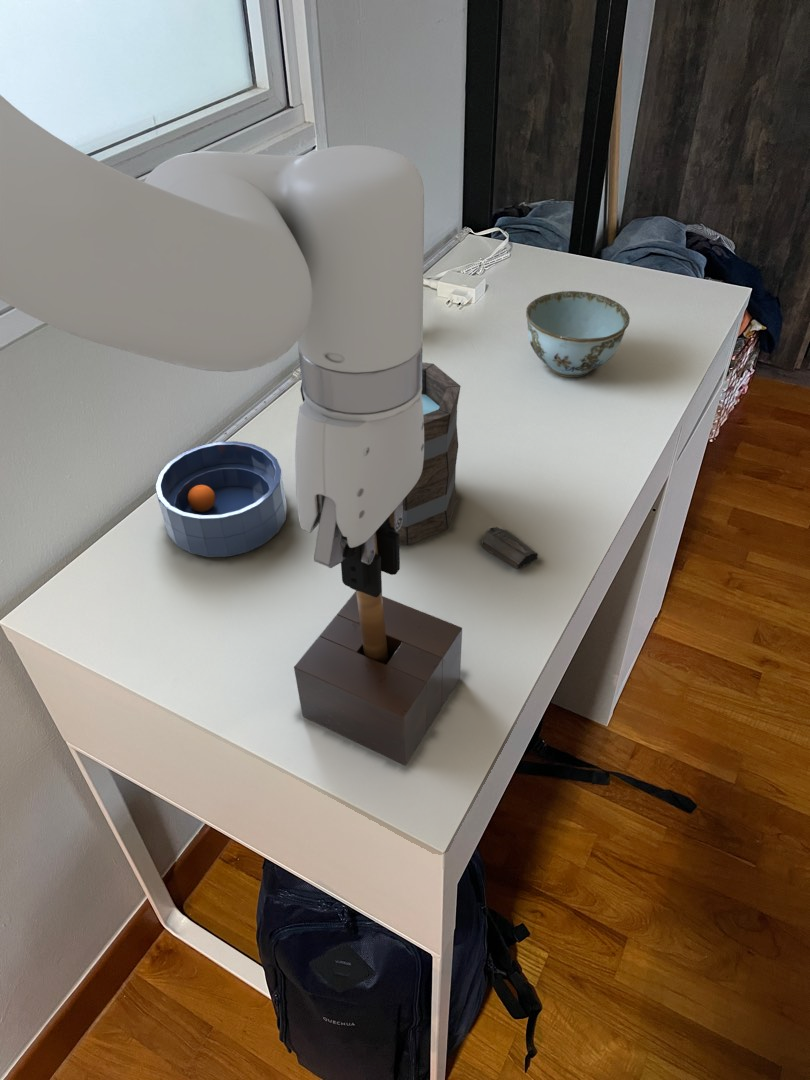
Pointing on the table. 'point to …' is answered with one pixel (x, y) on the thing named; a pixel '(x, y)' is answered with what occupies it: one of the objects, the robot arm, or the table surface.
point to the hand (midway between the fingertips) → (371, 576)
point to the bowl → (575, 330)
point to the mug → (433, 460)
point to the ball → (201, 498)
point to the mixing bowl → (223, 498)
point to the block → (508, 547)
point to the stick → (373, 624)
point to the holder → (380, 678)
